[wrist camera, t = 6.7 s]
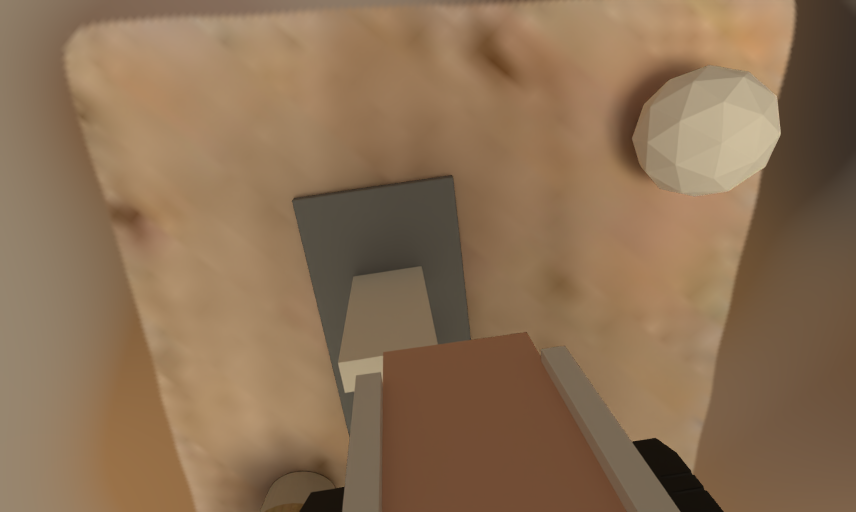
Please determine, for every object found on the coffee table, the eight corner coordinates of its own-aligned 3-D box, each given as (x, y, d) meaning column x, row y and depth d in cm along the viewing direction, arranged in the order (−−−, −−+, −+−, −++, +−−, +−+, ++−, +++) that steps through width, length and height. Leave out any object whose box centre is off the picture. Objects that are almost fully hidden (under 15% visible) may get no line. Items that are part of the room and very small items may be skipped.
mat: (482, 459, 40) (484, 466, 39) (362, 480, 40) (361, 487, 39) (451, 175, 31) (453, 177, 30) (294, 198, 30) (291, 200, 30)
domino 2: (527, 375, 16) (782, 889, 6) (390, 394, 16) (399, 967, 5) (526, 332, 15) (811, 825, 5) (383, 352, 15) (377, 910, 5)
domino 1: (424, 288, 33) (442, 376, 23) (357, 298, 33) (345, 392, 22) (421, 266, 32) (438, 346, 22) (353, 276, 32) (338, 363, 22)
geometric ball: (641, 155, 34) (653, 234, 30) (617, 68, 29) (627, 148, 25) (761, 122, 31) (796, 207, 26) (757, 16, 25) (799, 99, 21)
